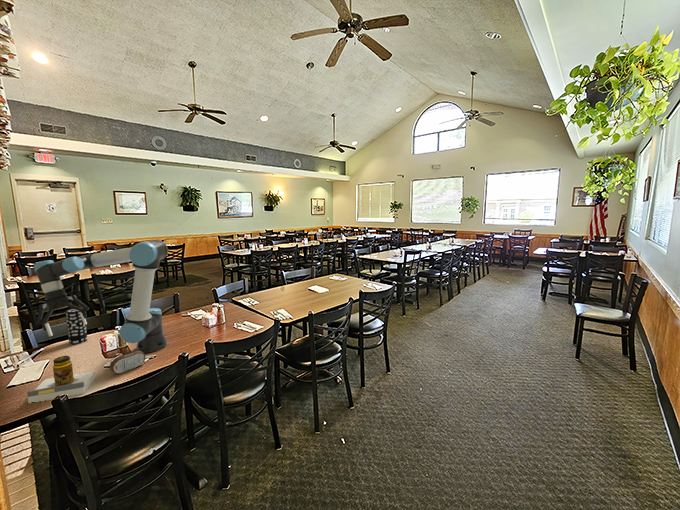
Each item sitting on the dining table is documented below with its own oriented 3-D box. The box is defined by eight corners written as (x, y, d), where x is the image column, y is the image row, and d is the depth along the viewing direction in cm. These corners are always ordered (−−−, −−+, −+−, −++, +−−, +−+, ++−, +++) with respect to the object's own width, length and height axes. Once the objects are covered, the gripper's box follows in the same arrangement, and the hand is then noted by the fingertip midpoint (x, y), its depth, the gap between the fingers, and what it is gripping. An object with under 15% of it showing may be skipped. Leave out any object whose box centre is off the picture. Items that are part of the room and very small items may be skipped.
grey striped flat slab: (95, 377, 139) (94, 367, 139) (83, 394, 126) (82, 383, 126) (46, 385, 132) (44, 375, 131) (28, 404, 119) (26, 392, 119)
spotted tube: (90, 340, 179) (87, 308, 176) (74, 345, 171) (71, 313, 168) (81, 338, 182) (78, 307, 179) (65, 343, 174) (61, 311, 171)
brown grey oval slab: (144, 362, 154) (142, 347, 152) (147, 364, 152) (145, 349, 151) (110, 375, 141) (108, 359, 140) (113, 377, 139) (111, 361, 138)
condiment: (61, 389, 125) (58, 362, 123) (46, 386, 127) (43, 360, 125) (80, 379, 132) (77, 354, 130) (65, 377, 134) (62, 352, 132)
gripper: (86, 282, 157) (100, 319, 157) (23, 300, 143) (38, 340, 144) (83, 282, 150) (97, 320, 151) (16, 299, 137) (32, 341, 138)
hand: (68, 330), depth 148 cm, fingers open, 13 cm apart
